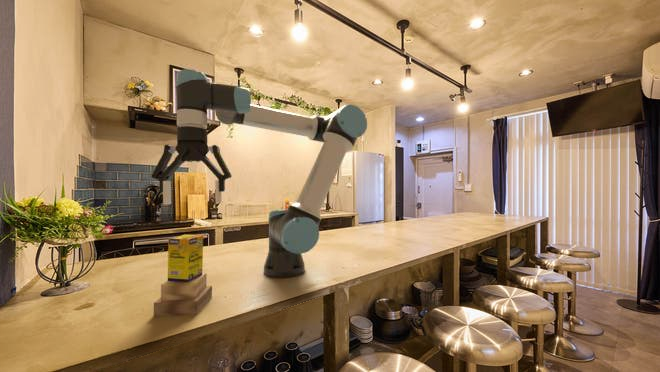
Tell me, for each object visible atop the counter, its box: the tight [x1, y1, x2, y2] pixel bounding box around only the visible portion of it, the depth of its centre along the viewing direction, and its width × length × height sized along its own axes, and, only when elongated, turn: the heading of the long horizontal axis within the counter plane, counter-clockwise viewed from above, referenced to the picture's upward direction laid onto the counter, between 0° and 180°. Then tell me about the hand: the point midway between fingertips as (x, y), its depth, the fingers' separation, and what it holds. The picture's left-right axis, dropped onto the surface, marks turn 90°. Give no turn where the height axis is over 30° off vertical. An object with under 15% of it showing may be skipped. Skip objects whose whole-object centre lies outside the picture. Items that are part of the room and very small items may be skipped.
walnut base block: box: [153, 285, 213, 318], centre depth 66 cm, size 10×10×4 cm
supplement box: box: [167, 234, 204, 282], centre depth 67 cm, size 6×6×11 cm
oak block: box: [160, 272, 207, 301], centre depth 67 cm, size 8×8×4 cm
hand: (193, 204), depth 71 cm, fingers open, 13 cm apart
